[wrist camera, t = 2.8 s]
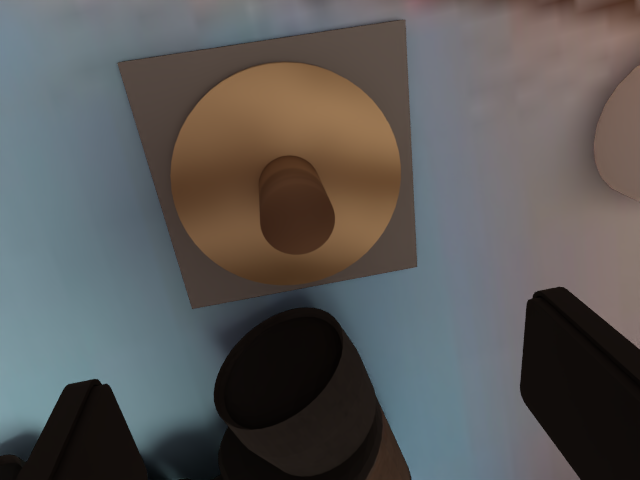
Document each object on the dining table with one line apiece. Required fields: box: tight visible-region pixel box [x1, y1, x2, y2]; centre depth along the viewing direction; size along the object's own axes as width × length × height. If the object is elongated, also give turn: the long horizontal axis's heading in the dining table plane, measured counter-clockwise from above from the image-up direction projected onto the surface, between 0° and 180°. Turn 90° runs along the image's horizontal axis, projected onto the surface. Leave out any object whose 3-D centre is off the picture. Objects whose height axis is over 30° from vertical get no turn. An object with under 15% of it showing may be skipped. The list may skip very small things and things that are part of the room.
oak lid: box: [170, 61, 401, 285], centre depth 22 cm, size 12×12×6 cm
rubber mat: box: [118, 20, 417, 309], centre depth 25 cm, size 14×14×1 cm
